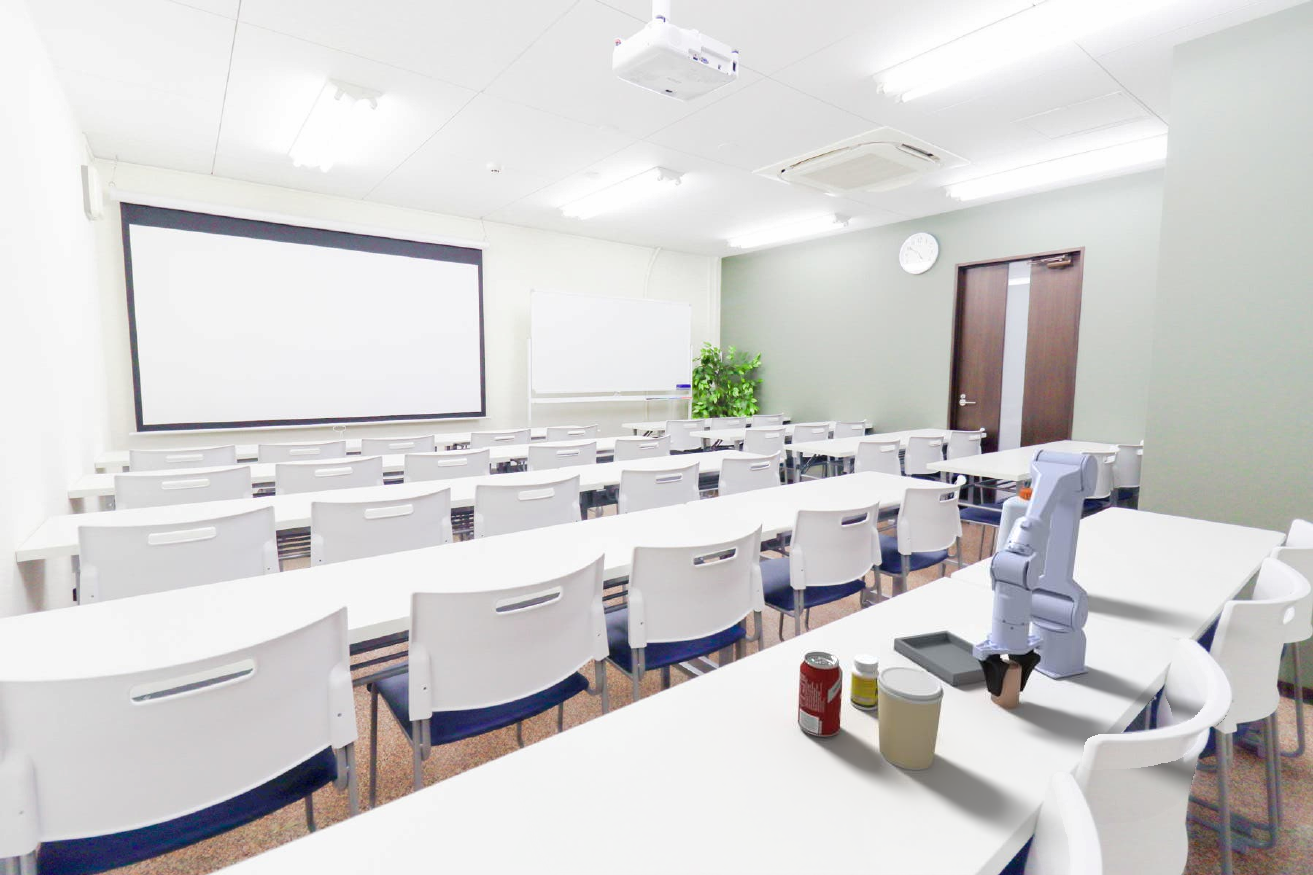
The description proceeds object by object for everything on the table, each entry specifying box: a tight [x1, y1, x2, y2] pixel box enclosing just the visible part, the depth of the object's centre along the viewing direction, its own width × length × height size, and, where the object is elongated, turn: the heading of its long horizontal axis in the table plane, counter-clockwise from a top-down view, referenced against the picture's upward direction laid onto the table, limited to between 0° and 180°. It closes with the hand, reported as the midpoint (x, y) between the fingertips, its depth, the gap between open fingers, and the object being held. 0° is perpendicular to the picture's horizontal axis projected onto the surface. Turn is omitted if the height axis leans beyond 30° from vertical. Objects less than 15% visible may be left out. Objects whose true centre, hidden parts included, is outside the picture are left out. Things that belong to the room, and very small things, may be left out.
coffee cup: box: [877, 666, 945, 771], centre depth 92 cm, size 9×9×12 cm
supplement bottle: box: [849, 653, 880, 711], centre depth 107 cm, size 5×5×8 cm
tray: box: [893, 630, 986, 687], centre depth 123 cm, size 14×16×2 cm
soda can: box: [797, 651, 843, 738], centre depth 99 cm, size 7×7×12 cm
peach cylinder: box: [990, 658, 1022, 709], centre depth 108 cm, size 4×4×7 cm
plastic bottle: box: [990, 487, 1057, 593], centre depth 164 cm, size 15×15×28 cm
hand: (1005, 691), depth 108 cm, fingers open, 5 cm apart
